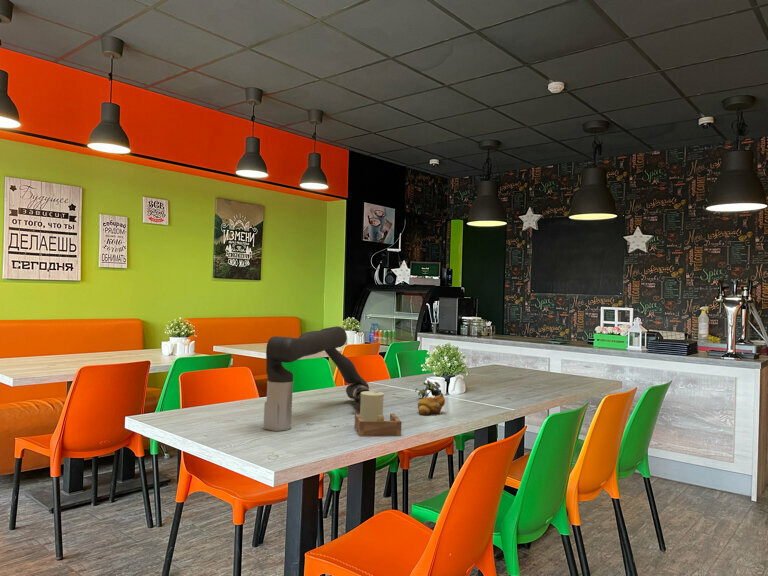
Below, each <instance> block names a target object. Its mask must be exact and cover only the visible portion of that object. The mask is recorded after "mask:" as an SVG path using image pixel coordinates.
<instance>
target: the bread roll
mask: <svg viewBox="0 0 768 576" xmlns="http://www.w3.org/2000/svg"><path fill="white" fill-rule="evenodd" d="M445 403H446V399H445V397H444V395H443V396H442V395H439V396H433V397H431V396H427V397H426V398H425V397H423V398H421V399H420V400H418V402H417V411H418V412H419V414H420V415H427V416H428V415H437V414H440V413H441V411H442V408H443V407H444V406H445Z"/></svg>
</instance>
